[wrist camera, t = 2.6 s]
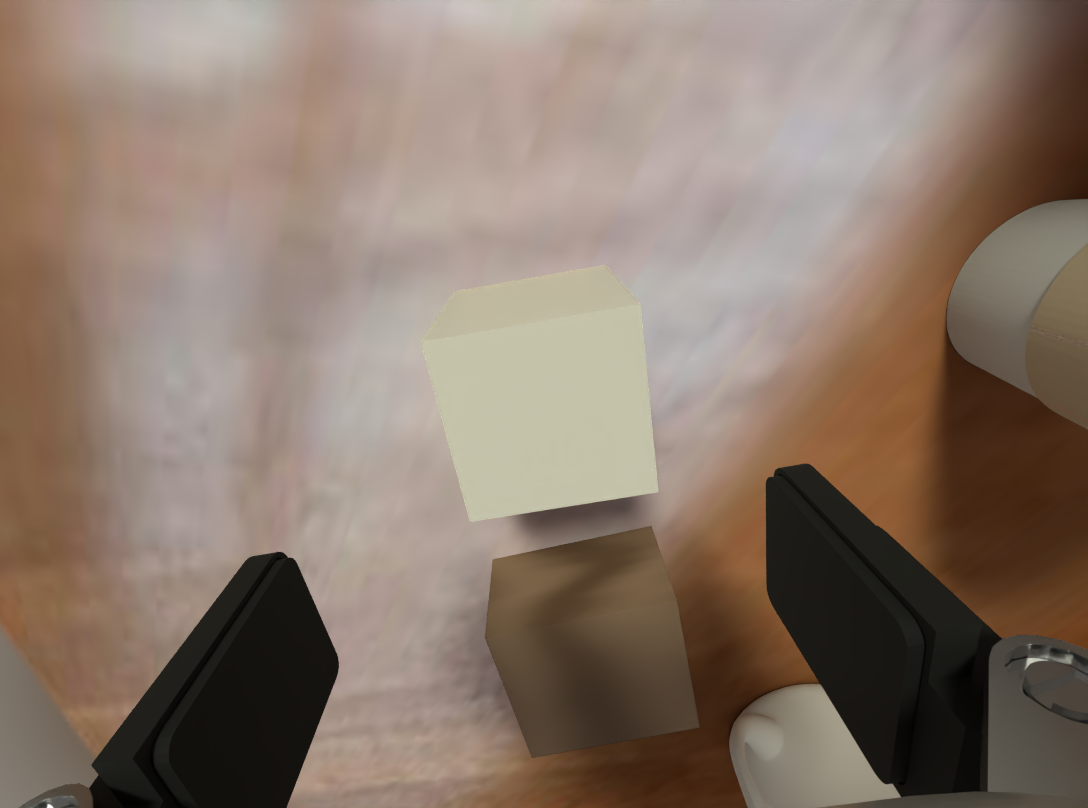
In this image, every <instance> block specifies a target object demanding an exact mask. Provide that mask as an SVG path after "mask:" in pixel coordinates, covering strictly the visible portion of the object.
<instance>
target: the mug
mask: <svg viewBox="0 0 1088 808" xmlns="http://www.w3.org/2000/svg"><path fill="white" fill-rule="evenodd" d="M729 749H730V755H731V759H732V763H733V766H734V770H735V773H736V776H737V779H738V782H739V784H740V787H741V790H742V793H743V796H744V799H745V802H746V805H747V807H748V808H818V807H826V806H834V805H843V804H851V803H859V802H867V801H875V800H883V799H891V798H899V797H901V796H900V795H899V793H898V791H897V790H896V788H895V787H894V785H893V784H884V783H882V782H881V780H880V779H879V778H878V777H877V776H876V774H875V773H874V771H873V769H872V768H871V766H870V765H869V763H868V761H867V760H866V758H865V756H864V755H863V753H862V751H861V750H860V748H859V747H858V745H857V743H856V742H855V740H854V738H853V737H852V735H851V733H850V732H849V730H848V729H847V727H846V725H845V724H844V722H843V720H842V719H841V717H840V715H839V714H838V712H837V711H836V709H835V707H834V706H833V704H832V702H831V701H830V699H829V697H828V696H827V694H826V693H825V691H824V689H823V688H822V686H821V684H798V685H792V686H787V687H783V688H780V689H777V690H774V691H772V692H770V693H767V694H765V695H763V696H762V697H760V698H758V699H757V700H755V701H754V702H752V703H751V704H750V705H749V706H747V707H746V708H745V709H744V710H743V711H742V713H741V714H740V715H739V716H738V718H737V719H736V720H735V722H734V724H733V727H732V729H731V733H730V739H729Z"/></svg>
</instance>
